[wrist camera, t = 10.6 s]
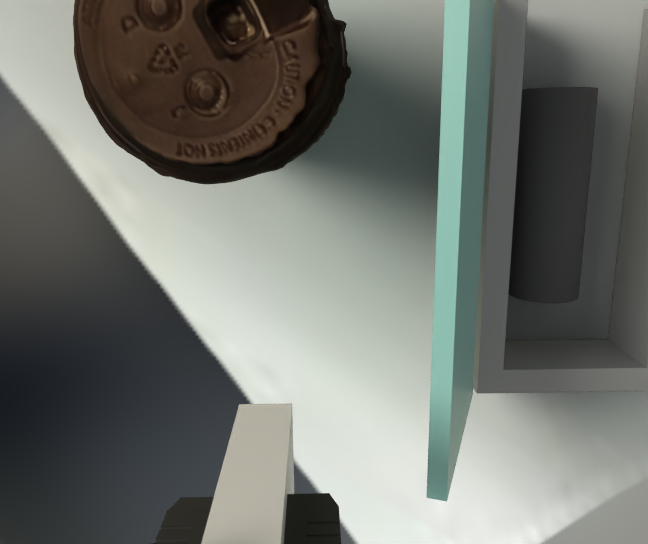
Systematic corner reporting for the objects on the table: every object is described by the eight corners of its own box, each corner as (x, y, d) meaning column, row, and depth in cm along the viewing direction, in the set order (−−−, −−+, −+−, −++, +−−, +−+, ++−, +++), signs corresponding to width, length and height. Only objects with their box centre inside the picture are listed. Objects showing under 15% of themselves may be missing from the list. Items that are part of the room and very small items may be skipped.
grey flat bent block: (474, 10, 29) (500, -7, 25) (669, 9, 29) (724, -9, 25) (458, 361, 33) (477, 393, 29) (627, 359, 33) (668, 390, 29)
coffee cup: (353, 5, 29) (384, -88, 16) (321, 178, 31) (326, 215, 18) (171, -33, 28) (55, -160, 16) (150, 145, 30) (32, 160, 17)
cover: (494, -8, 25) (477, -6, 25) (473, -72, 17) (447, -69, 17) (472, 393, 29) (457, 392, 29) (446, 501, 21) (426, 497, 21)
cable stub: (529, 92, 31) (512, 89, 28) (602, 89, 29) (592, 86, 26) (516, 282, 33) (499, 297, 30) (583, 290, 31) (571, 306, 28)
